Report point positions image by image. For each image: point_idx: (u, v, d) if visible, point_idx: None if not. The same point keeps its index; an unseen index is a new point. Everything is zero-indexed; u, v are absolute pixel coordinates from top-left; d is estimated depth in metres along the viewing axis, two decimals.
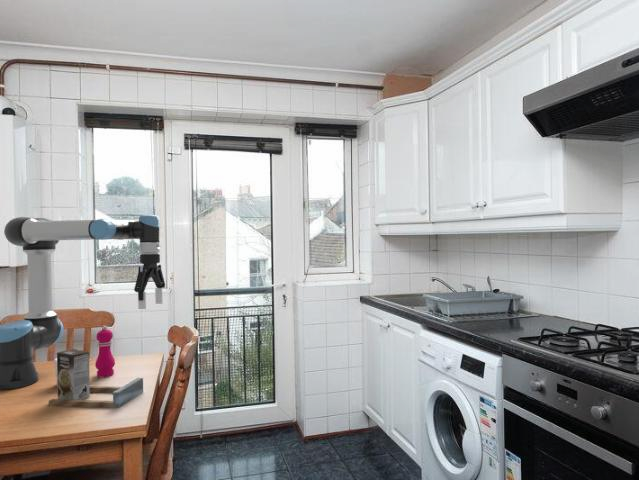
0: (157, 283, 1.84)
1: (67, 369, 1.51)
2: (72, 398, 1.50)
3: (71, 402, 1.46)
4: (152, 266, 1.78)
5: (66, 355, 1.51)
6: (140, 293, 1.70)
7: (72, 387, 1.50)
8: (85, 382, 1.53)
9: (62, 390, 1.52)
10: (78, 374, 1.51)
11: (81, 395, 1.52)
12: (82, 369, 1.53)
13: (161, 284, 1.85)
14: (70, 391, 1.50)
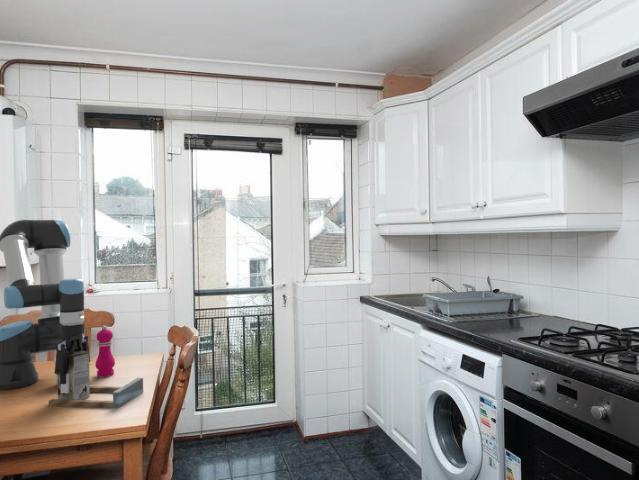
0: None
1: None
2: (72, 398, 1.50)
3: (71, 402, 1.46)
4: (75, 338, 1.54)
5: None
6: (62, 376, 1.49)
7: (72, 387, 1.50)
8: (85, 382, 1.53)
9: None
10: (78, 374, 1.51)
11: (81, 395, 1.52)
12: (82, 369, 1.53)
13: None
14: (70, 391, 1.50)
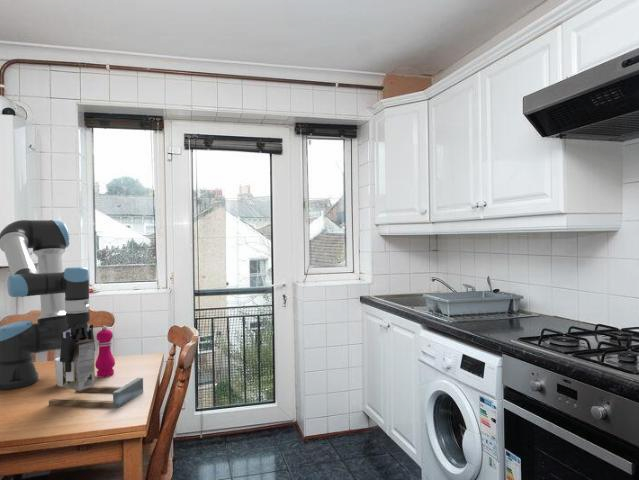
0: None
1: None
2: (77, 386, 1.50)
3: (71, 402, 1.46)
4: (80, 326, 1.54)
5: None
6: (67, 364, 1.48)
7: (77, 375, 1.49)
8: (90, 370, 1.53)
9: None
10: (83, 362, 1.51)
11: (86, 383, 1.52)
12: (87, 357, 1.52)
13: None
14: (76, 379, 1.50)
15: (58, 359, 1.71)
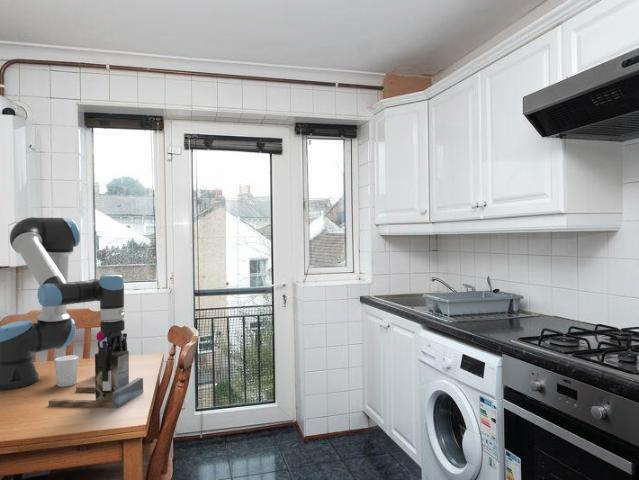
0: None
1: (109, 370, 1.49)
2: None
3: (71, 402, 1.46)
4: (115, 335, 1.52)
5: None
6: (104, 373, 1.47)
7: (116, 387, 1.49)
8: (126, 381, 1.53)
9: (102, 392, 1.50)
10: (121, 374, 1.51)
11: None
12: (124, 369, 1.52)
13: None
14: None
15: (58, 359, 1.71)
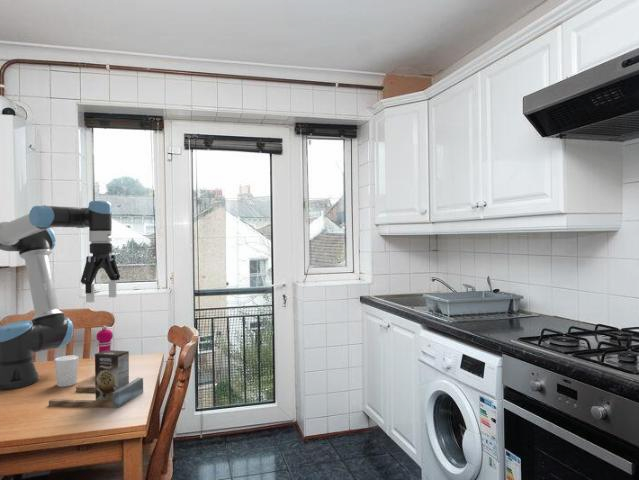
0: (110, 275, 1.70)
1: (109, 370, 1.49)
2: None
3: (71, 402, 1.46)
4: (103, 256, 1.64)
5: (108, 356, 1.49)
6: (87, 285, 1.56)
7: (116, 387, 1.49)
8: (126, 381, 1.53)
9: (102, 392, 1.50)
10: (121, 374, 1.51)
11: None
12: (124, 369, 1.52)
13: (115, 276, 1.71)
14: None
15: (58, 359, 1.71)
